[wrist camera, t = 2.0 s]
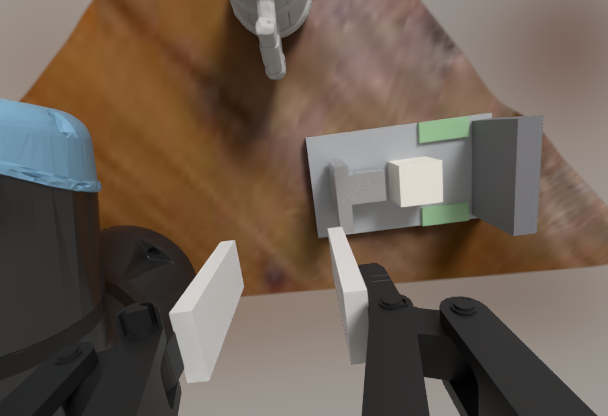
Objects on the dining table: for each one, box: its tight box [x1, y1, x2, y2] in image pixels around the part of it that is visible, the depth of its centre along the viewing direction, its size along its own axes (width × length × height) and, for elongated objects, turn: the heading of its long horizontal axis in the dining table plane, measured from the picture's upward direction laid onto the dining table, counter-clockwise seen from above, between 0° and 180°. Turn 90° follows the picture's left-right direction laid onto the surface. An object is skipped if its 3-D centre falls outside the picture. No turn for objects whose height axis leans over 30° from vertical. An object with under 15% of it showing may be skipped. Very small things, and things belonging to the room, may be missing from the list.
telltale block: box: [387, 156, 443, 207], centre depth 31 cm, size 4×4×4 cm
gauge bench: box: [306, 113, 543, 238], centre depth 30 cm, size 19×11×8 cm, turn 97°
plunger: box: [328, 159, 387, 234], centre depth 30 cm, size 5×6×6 cm
